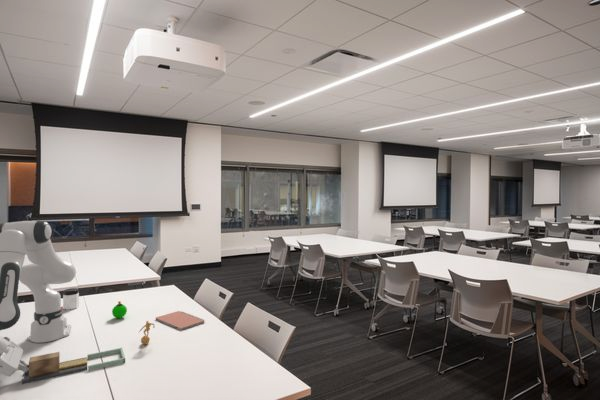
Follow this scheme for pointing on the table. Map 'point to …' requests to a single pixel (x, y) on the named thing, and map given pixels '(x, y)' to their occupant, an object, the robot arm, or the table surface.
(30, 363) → the brown wooden block
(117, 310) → the ornament
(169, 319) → the notebook
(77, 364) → the brass chip
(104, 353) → the tray
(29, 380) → the slot bed
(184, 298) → the table surface
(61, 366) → the brass chip
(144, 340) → the figurine
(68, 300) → the jar
